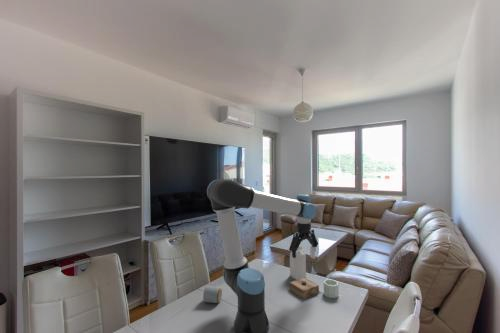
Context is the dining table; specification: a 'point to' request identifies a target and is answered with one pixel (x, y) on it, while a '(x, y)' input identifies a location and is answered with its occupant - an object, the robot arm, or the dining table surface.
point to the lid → (304, 287)
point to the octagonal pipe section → (331, 288)
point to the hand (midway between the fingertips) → (304, 260)
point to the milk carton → (298, 265)
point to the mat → (300, 296)
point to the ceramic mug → (212, 294)
